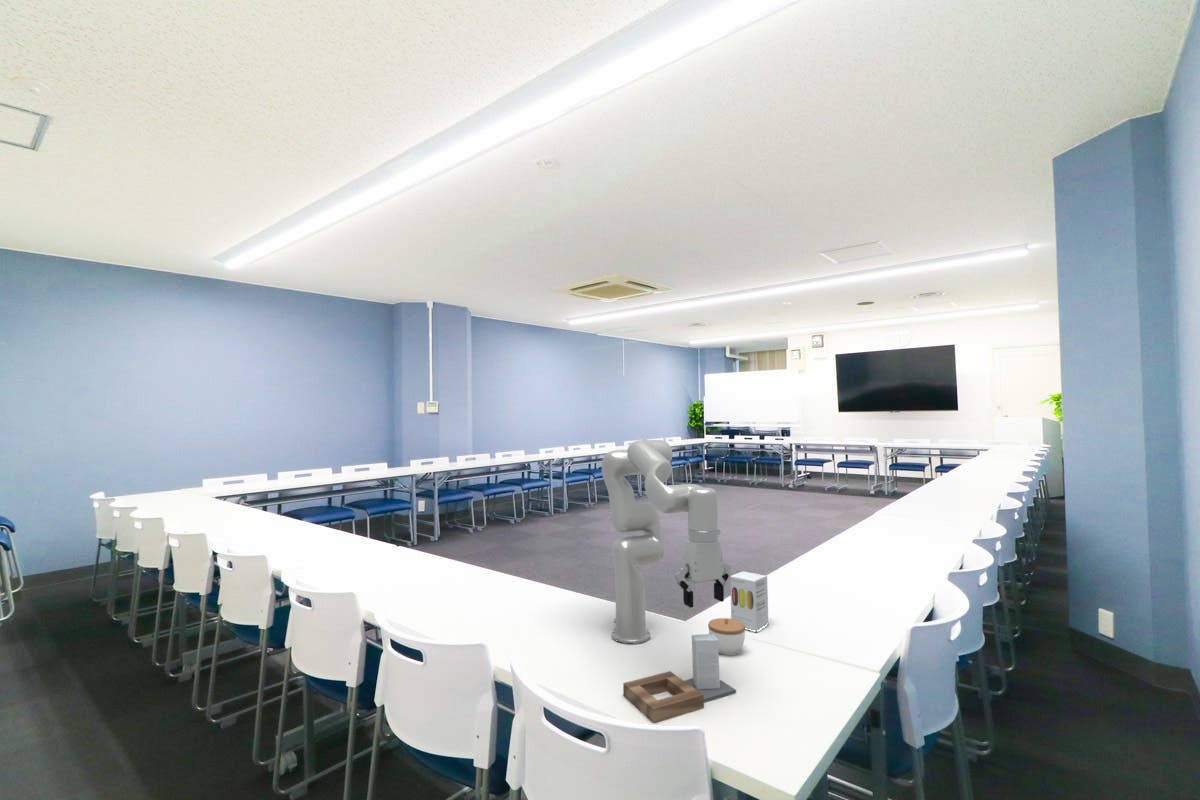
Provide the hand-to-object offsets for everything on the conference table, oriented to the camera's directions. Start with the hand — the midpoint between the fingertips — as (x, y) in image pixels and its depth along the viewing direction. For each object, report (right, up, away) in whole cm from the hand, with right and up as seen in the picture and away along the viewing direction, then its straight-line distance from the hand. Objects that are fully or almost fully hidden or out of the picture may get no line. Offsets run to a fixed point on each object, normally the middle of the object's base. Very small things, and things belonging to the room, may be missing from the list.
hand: (703, 602), depth 132 cm
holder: (-12, -21, -8) cm, 25 cm away
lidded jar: (+11, -23, +21) cm, 33 cm away
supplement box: (+24, -24, +41) cm, 53 cm away
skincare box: (0, -21, -2) cm, 21 cm away
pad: (0, -21, -2) cm, 21 cm away
